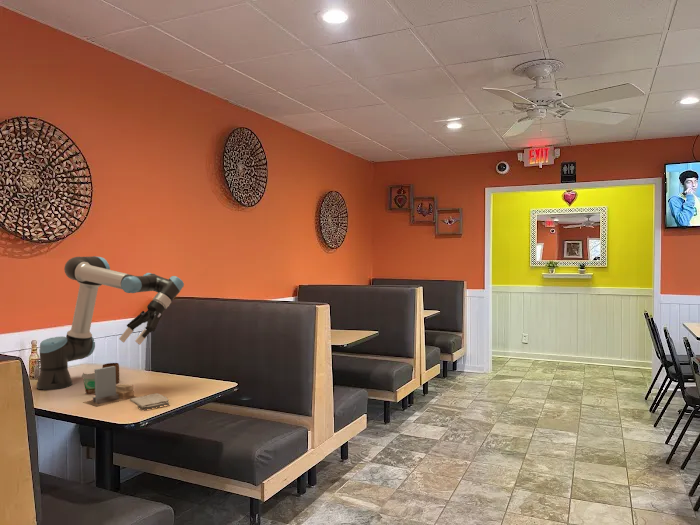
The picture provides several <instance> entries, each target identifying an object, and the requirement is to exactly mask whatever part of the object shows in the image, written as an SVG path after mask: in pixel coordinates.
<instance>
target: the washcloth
mask: <svg viewBox="0 0 700 525" xmlns="http://www.w3.org/2000/svg"><path fill="white" fill-rule="evenodd" d="M129 401H130V402H132V403H134V404H135V405H137V408H138V407H139V408H140V409H139V408H138V409H139V410H141V411H142V410H144V411H148V410H147V409H151V410H153V409H152V408H156V407H160V406H164V405H169V404H170V402H169V401H170V399H169V398H167V396H164V395H163V394H160V393H151V394H147V395H142V396H136V398H132V399H129ZM169 406H170V405H169ZM156 409H157V408H156Z"/></svg>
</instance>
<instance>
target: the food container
mask: <svg viewBox="0 0 700 525" xmlns="http://www.w3.org/2000/svg"><path fill="white" fill-rule="evenodd" d="M81 378H82V379H83V383H84V384H83V385H84V390H85V394H87V395H92V394H93V395H95V372H93V373H84V372H82V375H81Z"/></svg>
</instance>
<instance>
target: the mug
mask: <svg viewBox="0 0 700 525" xmlns="http://www.w3.org/2000/svg"><path fill="white" fill-rule="evenodd" d="M111 366H115V368H116V384H118V383H120V364H119V362H108V363H103V364H102V367H101V368H105V367H111Z"/></svg>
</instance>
